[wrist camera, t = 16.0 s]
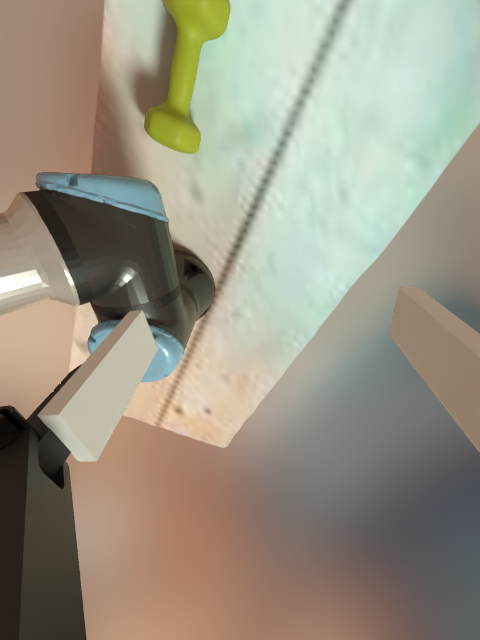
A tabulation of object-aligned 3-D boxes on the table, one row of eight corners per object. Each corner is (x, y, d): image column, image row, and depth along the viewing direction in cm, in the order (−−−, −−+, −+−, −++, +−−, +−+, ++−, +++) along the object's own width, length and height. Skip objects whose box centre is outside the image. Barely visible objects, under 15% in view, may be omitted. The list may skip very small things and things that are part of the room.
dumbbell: (175, -23, 29) (153, -72, 23) (237, 12, 30) (232, -26, 24) (151, 137, 38) (131, 132, 32) (200, 160, 39) (189, 159, 33)
